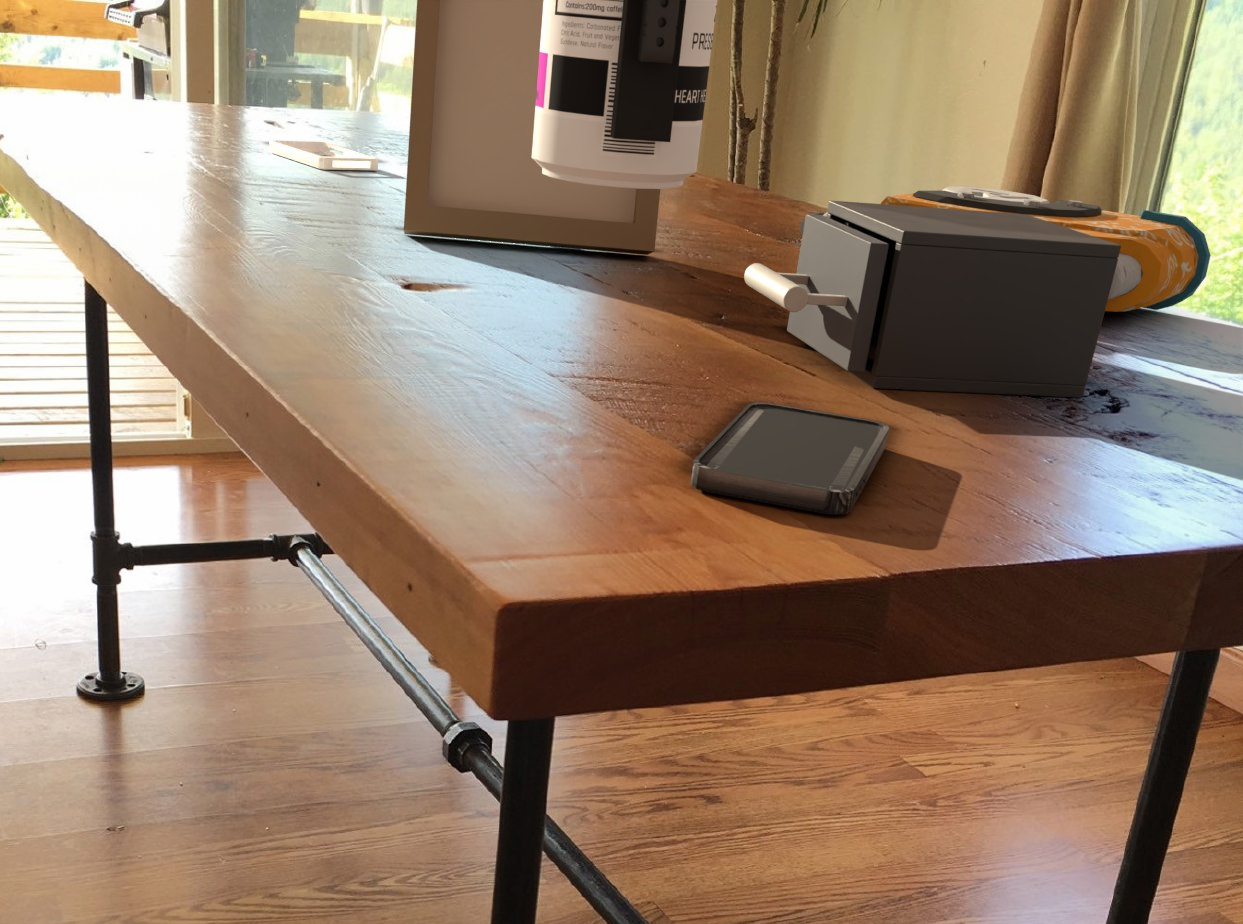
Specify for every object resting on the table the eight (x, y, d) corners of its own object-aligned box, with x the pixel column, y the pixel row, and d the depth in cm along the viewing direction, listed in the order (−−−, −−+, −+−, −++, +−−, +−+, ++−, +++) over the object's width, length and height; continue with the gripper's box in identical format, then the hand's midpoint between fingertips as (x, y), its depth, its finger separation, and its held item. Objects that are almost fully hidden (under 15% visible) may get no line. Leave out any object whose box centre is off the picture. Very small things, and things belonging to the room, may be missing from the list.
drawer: (782, 368, 95) (804, 238, 91) (727, 327, 105) (745, 209, 101) (1042, 380, 98) (1072, 255, 95) (965, 340, 108) (990, 226, 105)
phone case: (267, 152, 181) (321, 170, 170) (267, 139, 180) (322, 157, 169) (323, 153, 184) (380, 171, 173) (323, 141, 184) (380, 158, 173)
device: (1150, 235, 112) (790, 176, 127) (1120, 348, 116) (774, 277, 131) (1228, 217, 129) (901, 166, 144) (1199, 316, 132) (884, 256, 148)
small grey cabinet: (873, 388, 96) (903, 230, 92) (804, 343, 107) (828, 200, 103) (1082, 398, 99) (1122, 245, 94) (994, 352, 110) (1025, 214, 105)
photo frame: (653, 263, 132) (693, -60, 121) (403, 241, 131) (420, -87, 120) (634, 236, 146) (669, -57, 134) (407, 216, 144) (423, -81, 133)
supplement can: (501, 166, 77) (525, -177, 70) (639, 169, 81) (674, -157, 74) (580, 189, 71) (614, -185, 64) (726, 192, 74) (773, -162, 68)
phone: (688, 465, 72) (752, 399, 85) (684, 488, 73) (749, 419, 85) (853, 495, 70) (894, 423, 83) (849, 519, 70) (889, 443, 83)
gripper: (539, -403, 73) (504, 106, 83) (653, -523, 55) (591, 149, 65) (689, -382, 74) (637, 115, 85) (849, -493, 56) (758, 159, 66)
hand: (617, 129), depth 75 cm, fingers closed on supplement can, 8 cm apart
